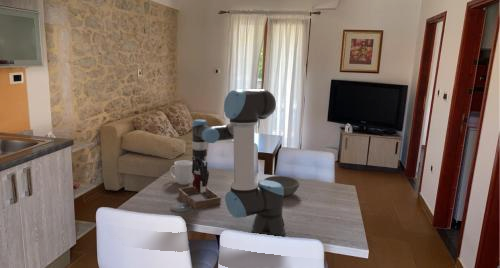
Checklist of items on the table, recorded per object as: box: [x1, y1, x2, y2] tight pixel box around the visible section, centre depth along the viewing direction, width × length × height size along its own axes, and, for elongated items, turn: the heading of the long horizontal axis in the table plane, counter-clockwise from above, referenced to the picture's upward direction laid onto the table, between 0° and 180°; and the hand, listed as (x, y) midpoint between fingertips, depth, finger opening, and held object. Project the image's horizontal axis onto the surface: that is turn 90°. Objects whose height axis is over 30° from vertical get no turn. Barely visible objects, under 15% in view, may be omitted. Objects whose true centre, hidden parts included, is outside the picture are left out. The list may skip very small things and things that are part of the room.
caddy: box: [178, 185, 222, 210], centre depth 196 cm, size 22×15×4 cm
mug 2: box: [192, 169, 210, 190], centre depth 193 cm, size 11×8×10 cm
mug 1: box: [169, 159, 193, 186], centre depth 220 cm, size 15×11×13 cm
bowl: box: [263, 175, 300, 197], centre depth 208 cm, size 21×21×8 cm
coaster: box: [170, 202, 191, 213], centre depth 185 cm, size 10×10×1 cm
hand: (199, 189), depth 195 cm, fingers closed on mug 2, 8 cm apart
